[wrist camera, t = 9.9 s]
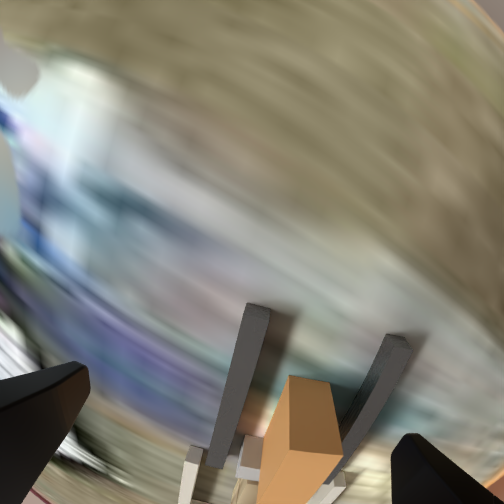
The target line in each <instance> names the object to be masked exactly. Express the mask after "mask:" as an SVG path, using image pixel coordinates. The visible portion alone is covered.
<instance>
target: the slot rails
mask: <svg viewBox="0 0 504 504" xmlns="http://www.w3.org/2000/svg"><path fill="white" fill-rule="evenodd" d="M269 318H270V309H269V308H265V307H261V306H257V305H253V304H249V303H247V304H246V307H245V310H244V314H243V317H242V321H241V325H240V329H239V333H238V337H237V341H236V345H235V349H234V353H233V357H232V361H231V365H230V369H229V373H228V377H227V381H226V385H225V389H224V393H223V397H222V401H221V405H220V408H219V412H218V416H217V420H216V424H215V428H214V432H213V436H212V440H211V443H210V447H209V451H208V455H207V459H206V463H205V465H207V466H211V467H215V468H219V469H223V466H224V463H225V460H226V457H227V454H228V452H229V449H230V446H231V443H232V440H233V437H234V434H235V430H236V427H237V424H238V421H239V418H240V415H241V412H242V409H243V406H244V403H245V399H246V396H247V393H248V390H249V387H250V383H251V380H252V377H253V374H254V370H255V367H256V364H257V361H258V357H259V354H260V351H261V347H262V344H263V340H264V337H265V334H266V330H267V327H268V323H269ZM412 352H413V349H412V347H411V346H410V345H409V343H408V342H407V341H406V339H405V338H404V337H399V336H394V335H389V334H386V335H385V337H384V340H383V342H382V344H381V347H380V349H379V351H378V353H377V355H376V358H375V360H374V362H373V364H372V366H371V368H370V370H369V372H368V374H367V376H366V378H365V380H364V382H363V384H362V386H361V388H360V390H359V392H358V394H357V396H356V398H355V400H354V402H353V404H352V405H351V407H350V409H349V411H348V413H347V414H346V416H345V418H344V420H343V421H342V423H341V425H340V427H339V433H340V439H341V444H342V450H343V457H342V458H341V460H340V461H339V463H338V464H337V465H336V467H335V468H334V469H333V471H332V472H331V473H330V475H329V476H328V477H327V479H326V480H325V481H324V482H323V484H325V485H329V484H330V483H331V482H332V480H333V479H334V478H335V477H336V475H337V474H338V473H339V471H340V470H341V469H342V467H343V466H344V465H345V463H346V462H347V461H348V459H349V458H350V457H351V455H352V454H353V452H354V451H355V450H356V448H357V447H358V445H359V444H360V442H361V441H362V439H363V438H364V436H365V435H366V433H367V432H368V430H369V429H370V427H371V426H372V424H373V423H374V421H375V419H376V418H377V416H378V415H379V413H380V411H381V410H382V408H383V406H384V405H385V403H386V401H387V399H388V398H389V396H390V394H391V392H392V391H393V389H394V387H395V385H396V383H397V381H398V379H399V378H400V376H401V374H402V372H403V370H404V368H405V366H406V364H407V362H408V360H409V358H410V356H411V354H412Z"/></svg>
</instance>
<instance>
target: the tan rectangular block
mask: <svg viewBox="0 0 504 504" xmlns="http://www.w3.org/2000/svg"><path fill="white" fill-rule="evenodd" d="M342 457H343V450H342V444H341V439H340V433H339V428H338V423H337V418H336V412H335V407H334V402H333V397H332V393H331V388H330V383H329V382H323V381H317V380H312V379H306V378H301V377H296V376H291V375H289V376H288V379H287V381H286V384H285V386H284V389H283V392H282V394H281V397H280V399H279V402H278V404H277V407H276V409H275V412H274V414H273V417H272V419H271V421H270V424H269V426H268V429H267V431H266V433H265V436H264V438H260V437H255V436H250V435H245V437H244V440H243V442H242V445H241V449H240V454H239V460H238V465H237V470H236V476H235V477H237V478H242V479H247V480H252V481H258V482H259V484H258V493H257V502H256V504H306V503H307V502H308V501H309V500H310V498H311V497H312V496H313V495H314V494H315V492H316V491H317V490H318V489H319V487H320V486H321V485H322V484H323V482H324V481H325V480H326V479H327V477H328V476H329V475H330V473H331V472H332V471H333V469H334V468H335V467H336V465H337V464H338V463H339V461H340V460H341V458H342Z"/></svg>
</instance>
